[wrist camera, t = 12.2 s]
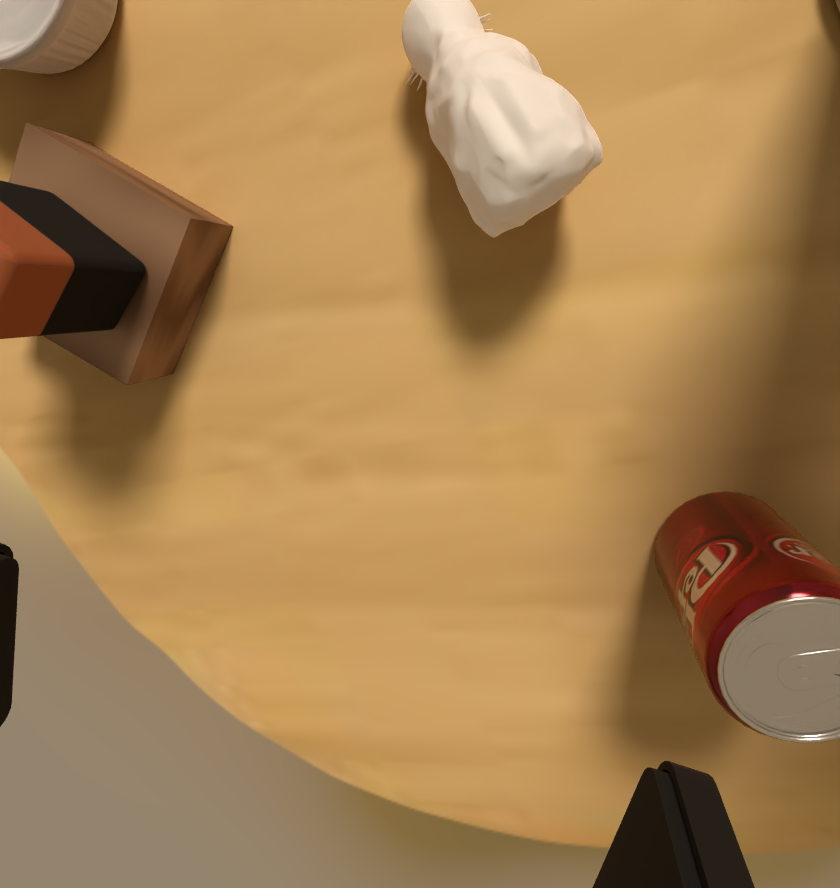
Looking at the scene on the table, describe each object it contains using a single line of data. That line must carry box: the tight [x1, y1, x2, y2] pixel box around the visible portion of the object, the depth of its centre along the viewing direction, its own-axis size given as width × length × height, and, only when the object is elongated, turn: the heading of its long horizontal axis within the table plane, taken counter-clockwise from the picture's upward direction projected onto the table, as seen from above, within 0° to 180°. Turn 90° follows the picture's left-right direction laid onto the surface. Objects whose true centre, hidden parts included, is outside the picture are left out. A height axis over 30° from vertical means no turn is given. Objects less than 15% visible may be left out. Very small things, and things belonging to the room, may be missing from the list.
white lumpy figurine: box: [402, 0, 603, 238], centre depth 28 cm, size 6×8×12 cm
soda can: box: [655, 492, 840, 742], centre depth 30 cm, size 7×7×12 cm
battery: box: [0, 181, 146, 339], centre depth 28 cm, size 4×7×10 cm, turn 53°
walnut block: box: [9, 122, 233, 385], centre depth 35 cm, size 10×10×5 cm
